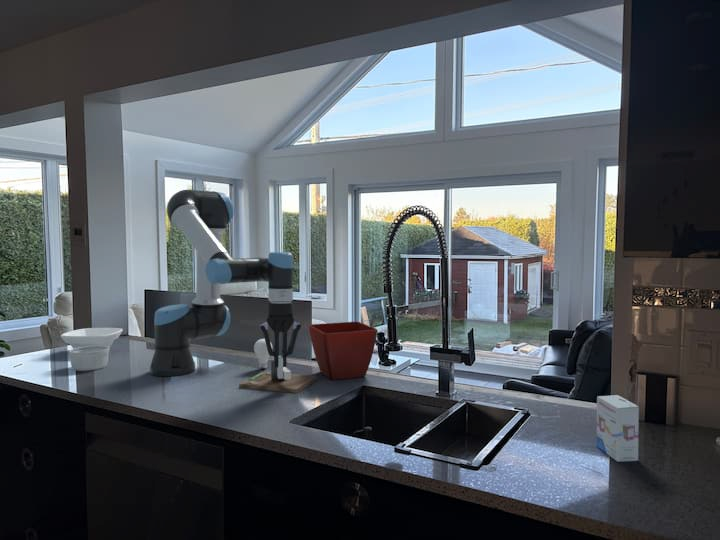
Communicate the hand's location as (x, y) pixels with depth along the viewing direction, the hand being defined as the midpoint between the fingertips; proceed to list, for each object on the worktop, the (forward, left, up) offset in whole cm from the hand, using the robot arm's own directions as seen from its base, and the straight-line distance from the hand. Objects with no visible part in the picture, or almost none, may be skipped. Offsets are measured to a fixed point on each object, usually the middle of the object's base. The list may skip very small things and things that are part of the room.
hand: (280, 377), depth 159 cm
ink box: (+91, -22, -4) cm, 94 cm away
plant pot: (+12, +24, -4) cm, 27 cm away
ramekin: (-80, +6, -4) cm, 80 cm away
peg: (-3, +6, -3) cm, 7 cm away
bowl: (-100, +28, -4) cm, 104 cm away
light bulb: (-18, +23, -4) cm, 29 cm away
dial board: (-4, +7, -4) cm, 9 cm away
